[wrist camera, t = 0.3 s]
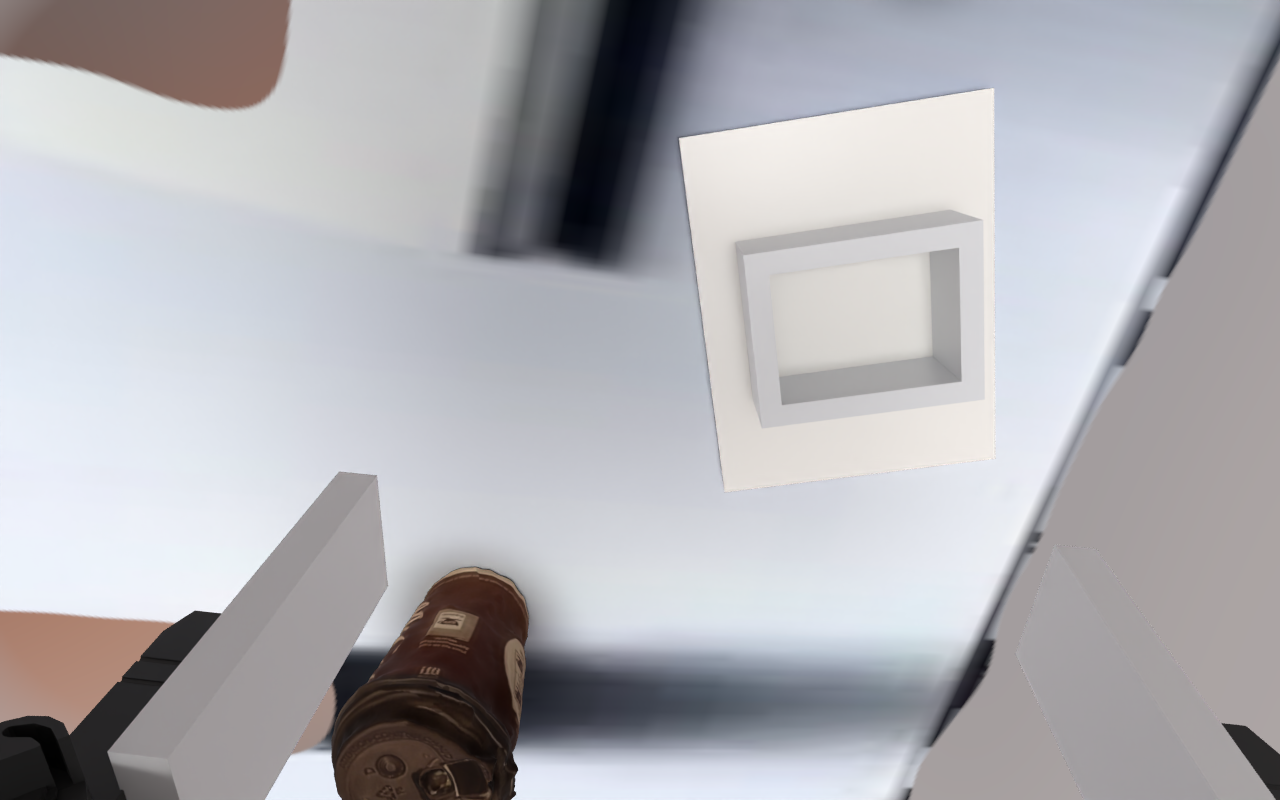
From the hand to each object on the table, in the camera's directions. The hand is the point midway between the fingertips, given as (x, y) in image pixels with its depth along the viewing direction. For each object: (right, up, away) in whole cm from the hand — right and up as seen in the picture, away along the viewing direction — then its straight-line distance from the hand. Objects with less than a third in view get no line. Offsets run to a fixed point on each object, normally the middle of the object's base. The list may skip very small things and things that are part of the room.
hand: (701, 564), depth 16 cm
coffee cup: (-11, -9, +31) cm, 34 cm away
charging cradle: (+9, +8, +24) cm, 26 cm away
